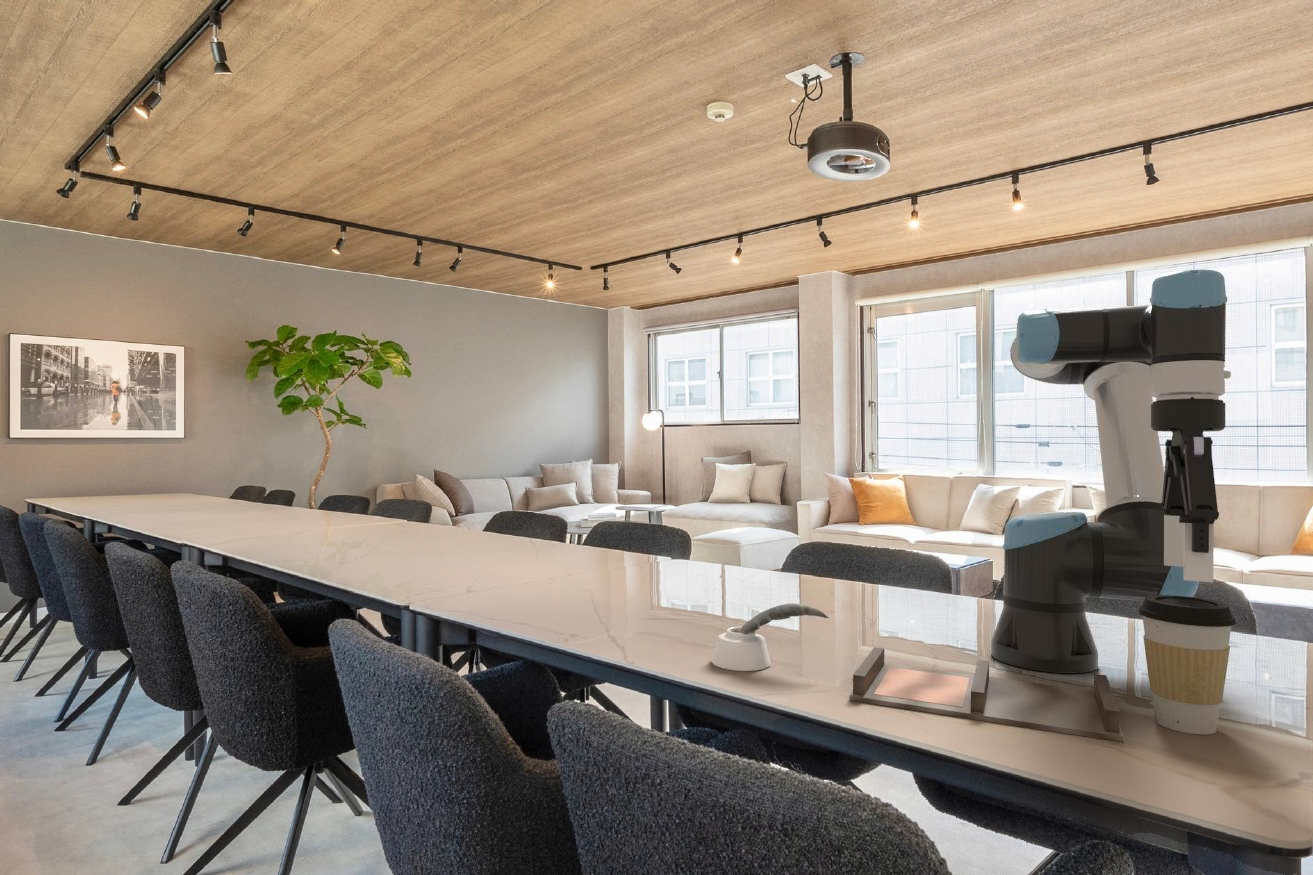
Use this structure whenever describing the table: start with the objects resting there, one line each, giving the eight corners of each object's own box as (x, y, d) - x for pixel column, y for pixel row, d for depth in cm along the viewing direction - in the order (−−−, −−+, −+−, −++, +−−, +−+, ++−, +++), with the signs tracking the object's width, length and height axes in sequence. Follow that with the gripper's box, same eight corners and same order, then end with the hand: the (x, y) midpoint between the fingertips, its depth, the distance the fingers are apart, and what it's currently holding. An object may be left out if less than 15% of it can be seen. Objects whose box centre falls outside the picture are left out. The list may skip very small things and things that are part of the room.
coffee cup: (1240, 724, 94) (1241, 602, 94) (1229, 747, 87) (1230, 614, 87) (1147, 705, 101) (1147, 590, 101) (1129, 724, 94) (1130, 601, 94)
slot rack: (849, 699, 101) (849, 676, 101) (873, 665, 118) (873, 645, 118) (1123, 741, 88) (1123, 714, 88) (1107, 696, 104) (1107, 673, 104)
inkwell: (720, 652, 124) (721, 590, 124) (833, 665, 118) (834, 600, 118) (702, 667, 116) (703, 600, 116) (823, 682, 109) (824, 611, 109)
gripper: (1252, 390, 81) (1252, 591, 81) (1202, 405, 104) (1202, 562, 103) (1168, 391, 85) (1167, 585, 84) (1137, 405, 107) (1137, 558, 107)
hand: (1186, 573), depth 94 cm, fingers open, 13 cm apart
